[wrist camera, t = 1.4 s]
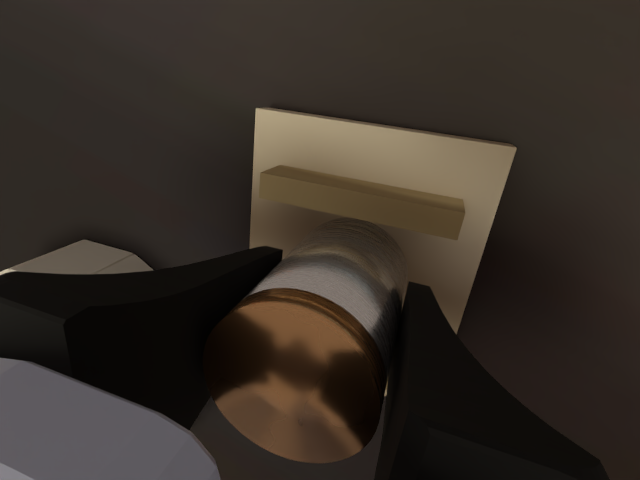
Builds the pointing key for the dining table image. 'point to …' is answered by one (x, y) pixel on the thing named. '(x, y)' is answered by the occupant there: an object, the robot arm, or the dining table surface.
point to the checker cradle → (381, 192)
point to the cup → (84, 261)
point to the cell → (313, 345)
